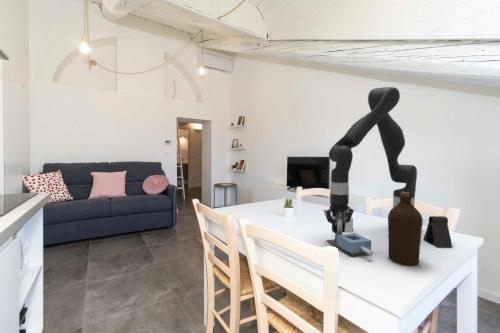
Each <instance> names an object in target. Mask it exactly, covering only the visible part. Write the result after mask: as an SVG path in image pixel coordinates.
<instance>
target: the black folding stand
mask: <svg viewBox="0 0 500 333" xmlns="http://www.w3.org/2000/svg"><path fill="white" fill-rule="evenodd" d="M448 223H449V218H448V217H447V216H443V215H441V216H439V215H437V216H434V215H433V216H432V215H430V216H429V217H428V224H427V227H426V230H425V232H424V235H423V236H424V237H423V238H422V239H423V241H424V242H425V243H427V244H430V245H431V246H434V247H435V248H436V249H439V248H440V249H447V248H448V249H453V243H452V239H451V234H450V229H449V224H448Z"/></svg>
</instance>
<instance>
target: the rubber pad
mask: <svg viewBox="0 0 500 333" xmlns="http://www.w3.org/2000/svg"><path fill="white" fill-rule="evenodd" d="M326 243H328V244H330V245H332V246H333V245H334V247H335V248H336V247H337V243H336V242H335V238H333V239H326Z"/></svg>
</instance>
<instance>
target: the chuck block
mask: <svg viewBox="0 0 500 333" xmlns="http://www.w3.org/2000/svg"><path fill="white" fill-rule="evenodd" d="M337 248H338V249H337ZM337 248H336V249H337V250H338V251H340V252H342V253H344V254H345V255H347V256H348V257H350V258H355V257H362V256H373V254H374V251H373V250H372V240H371V239H369V238H367V237H364V236H363V235H361V234H358V233H356V232H355V233H353V232H351V233H345V234H344V233H342V235H337Z"/></svg>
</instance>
